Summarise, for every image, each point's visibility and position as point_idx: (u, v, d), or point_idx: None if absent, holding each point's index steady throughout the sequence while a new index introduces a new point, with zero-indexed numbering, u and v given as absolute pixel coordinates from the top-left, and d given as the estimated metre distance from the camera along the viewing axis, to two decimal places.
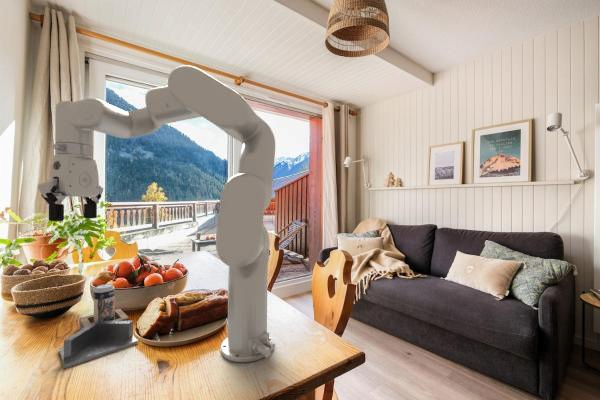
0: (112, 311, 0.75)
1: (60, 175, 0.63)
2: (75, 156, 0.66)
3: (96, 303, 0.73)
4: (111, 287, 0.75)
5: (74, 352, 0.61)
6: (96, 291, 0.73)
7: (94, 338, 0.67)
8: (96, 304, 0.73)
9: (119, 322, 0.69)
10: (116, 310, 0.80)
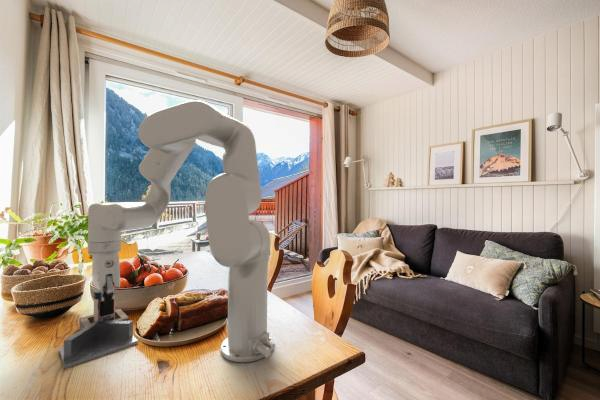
0: None
1: (114, 272, 0.73)
2: None
3: (96, 303, 0.73)
4: None
5: (74, 352, 0.61)
6: (96, 291, 0.73)
7: (94, 338, 0.67)
8: (96, 304, 0.73)
9: (119, 322, 0.69)
10: (116, 310, 0.80)
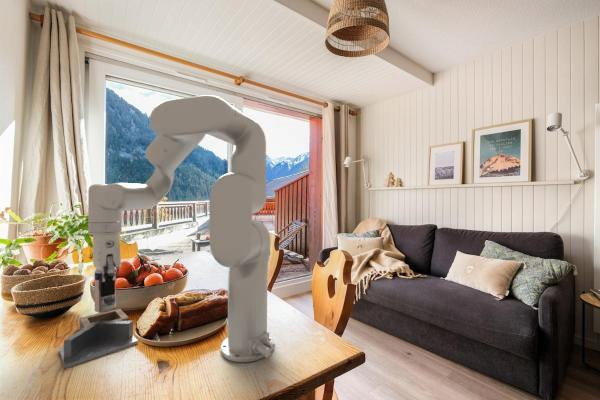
0: None
1: (114, 252, 0.73)
2: None
3: (97, 284, 0.73)
4: None
5: (74, 352, 0.61)
6: (97, 272, 0.73)
7: (94, 338, 0.67)
8: (97, 285, 0.73)
9: (119, 322, 0.69)
10: (116, 310, 0.80)
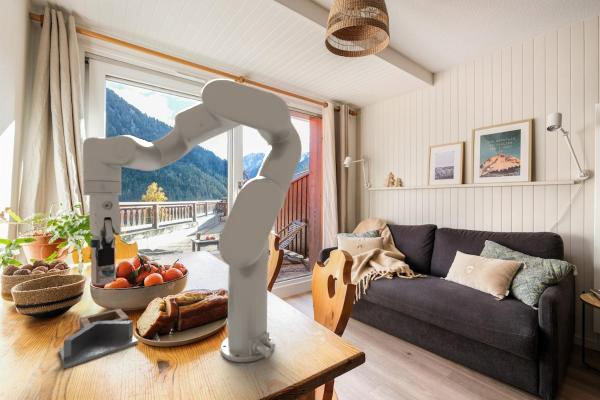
0: None
1: (113, 215, 0.63)
2: (117, 195, 0.66)
3: (93, 252, 0.63)
4: None
5: (74, 352, 0.61)
6: (93, 238, 0.64)
7: (94, 338, 0.67)
8: (94, 253, 0.63)
9: (119, 322, 0.69)
10: (116, 310, 0.80)
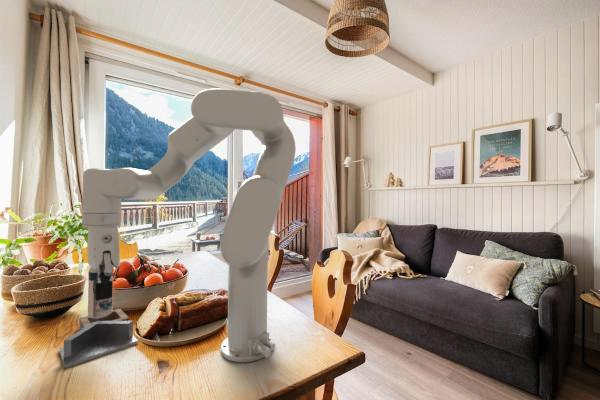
0: None
1: (112, 248, 0.62)
2: None
3: (91, 285, 0.62)
4: None
5: (74, 352, 0.61)
6: (91, 271, 0.62)
7: (94, 338, 0.67)
8: (91, 286, 0.62)
9: (119, 322, 0.69)
10: (116, 310, 0.80)
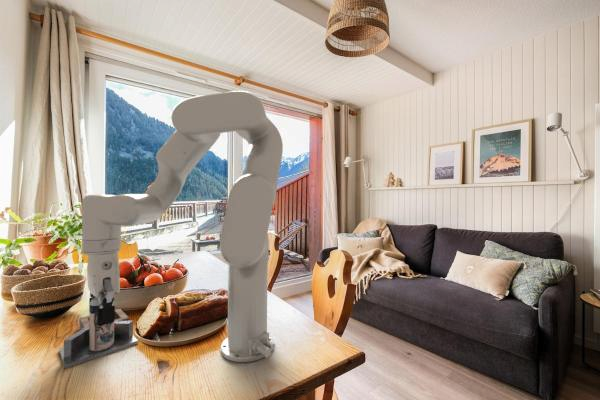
0: (111, 327, 0.64)
1: (112, 275, 0.62)
2: (117, 251, 0.65)
3: (92, 318, 0.62)
4: None
5: (74, 352, 0.61)
6: (92, 304, 0.62)
7: None
8: (92, 319, 0.62)
9: (119, 322, 0.69)
10: (116, 310, 0.80)
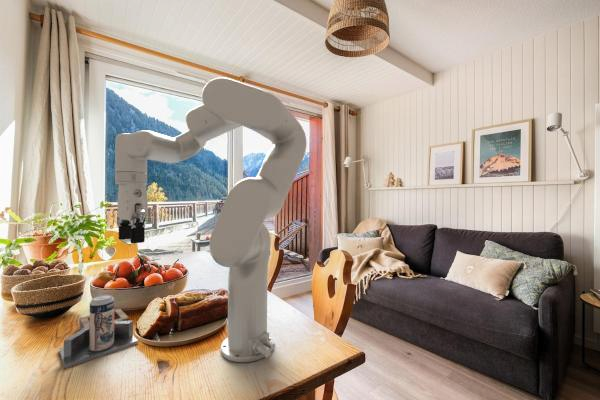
0: (111, 327, 0.64)
1: (142, 202, 0.72)
2: (144, 184, 0.75)
3: (92, 318, 0.62)
4: (110, 299, 0.64)
5: (74, 352, 0.61)
6: (92, 304, 0.62)
7: None
8: (92, 319, 0.62)
9: (119, 322, 0.69)
10: (116, 310, 0.80)
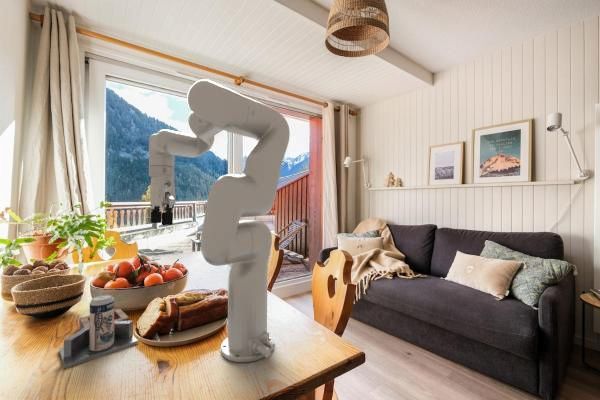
0: (111, 327, 0.64)
1: (171, 191, 0.86)
2: (172, 176, 0.89)
3: (92, 318, 0.62)
4: (110, 299, 0.64)
5: (74, 352, 0.61)
6: (92, 304, 0.62)
7: None
8: (92, 319, 0.62)
9: (119, 322, 0.69)
10: (116, 310, 0.80)
